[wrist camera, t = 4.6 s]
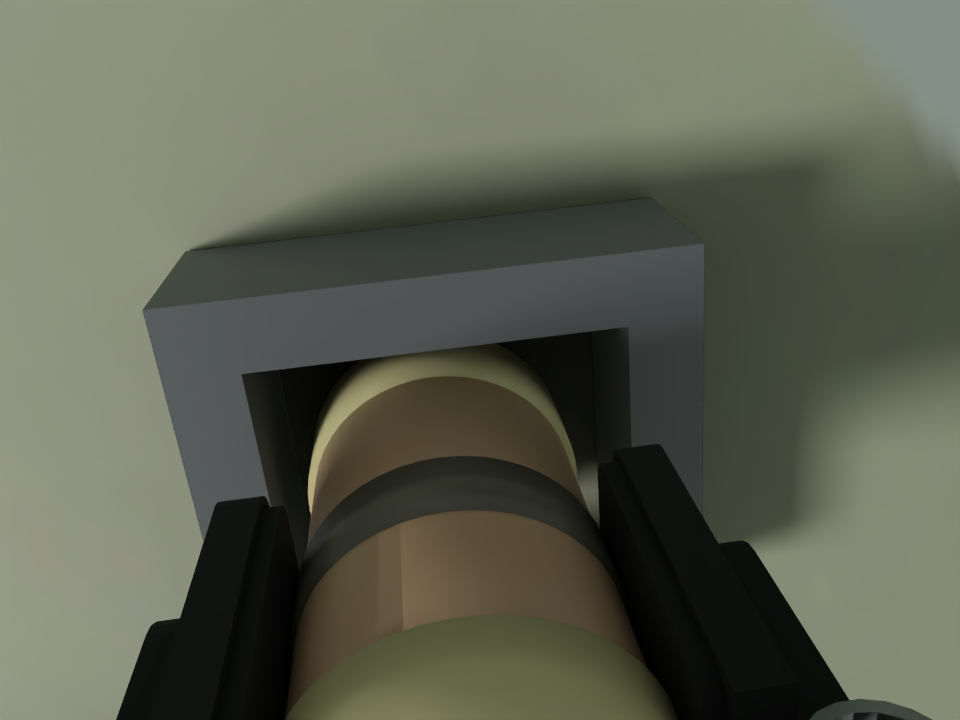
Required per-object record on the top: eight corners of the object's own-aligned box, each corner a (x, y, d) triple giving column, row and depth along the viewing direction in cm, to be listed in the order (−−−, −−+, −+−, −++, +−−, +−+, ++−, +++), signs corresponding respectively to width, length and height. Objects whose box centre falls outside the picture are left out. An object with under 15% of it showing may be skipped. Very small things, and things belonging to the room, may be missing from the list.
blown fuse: (294, 349, 13) (195, 783, 6) (553, 317, 13) (740, 702, 6) (335, 563, 14) (293, 1101, 8) (567, 531, 15) (727, 1027, 8)
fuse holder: (185, 251, 13) (142, 309, 11) (651, 197, 13) (704, 243, 11) (273, 625, 16) (254, 735, 14) (656, 573, 16) (700, 671, 14)
